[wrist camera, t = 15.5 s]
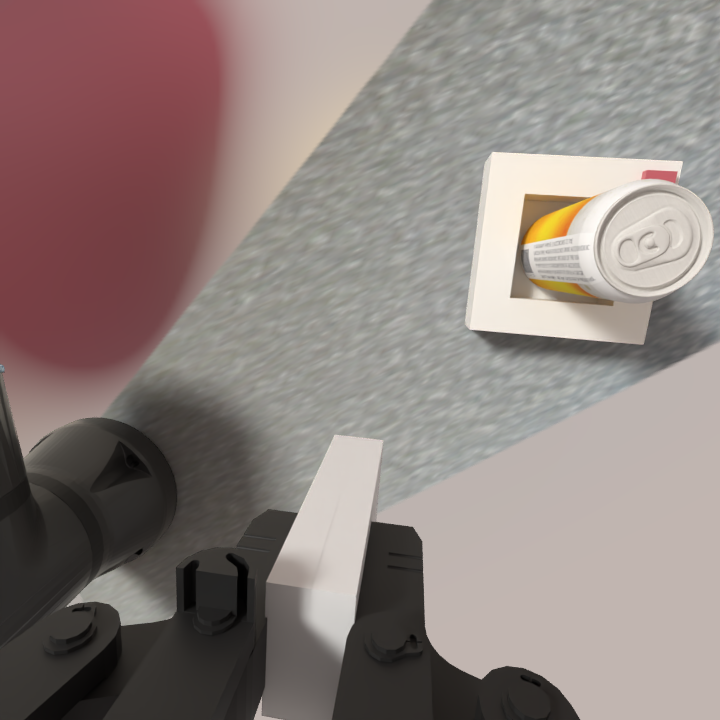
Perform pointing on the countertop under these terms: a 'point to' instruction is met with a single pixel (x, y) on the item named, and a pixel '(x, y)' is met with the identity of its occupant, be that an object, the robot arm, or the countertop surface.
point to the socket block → (512, 220)
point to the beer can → (621, 243)
